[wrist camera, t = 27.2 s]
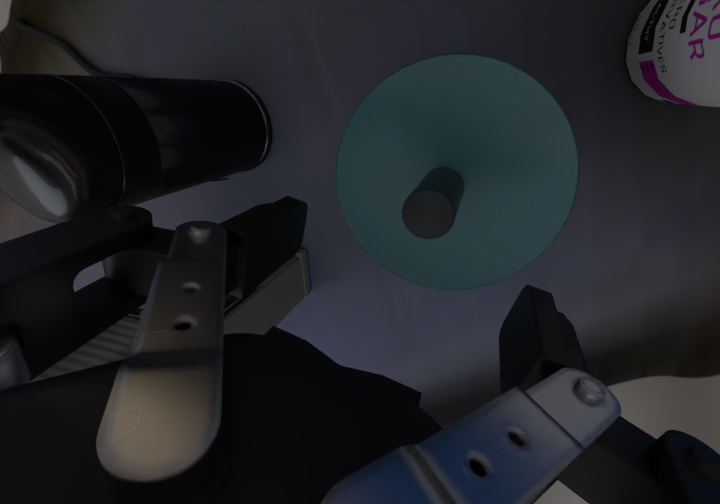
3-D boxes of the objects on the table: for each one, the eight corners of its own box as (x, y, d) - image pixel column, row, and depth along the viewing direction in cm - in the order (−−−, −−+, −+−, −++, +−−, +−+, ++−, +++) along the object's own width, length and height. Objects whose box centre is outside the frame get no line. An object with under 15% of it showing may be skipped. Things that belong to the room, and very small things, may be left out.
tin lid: (326, 240, 27) (281, 279, 22) (369, 28, 20) (319, 4, 15) (508, 311, 25) (511, 378, 19) (632, 93, 17) (698, 95, 12)
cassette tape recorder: (306, 246, 41) (103, 411, 20) (312, 290, 44) (136, 479, 22) (214, 237, 46) (-30, 363, 25) (224, 277, 48) (10, 424, 27)
